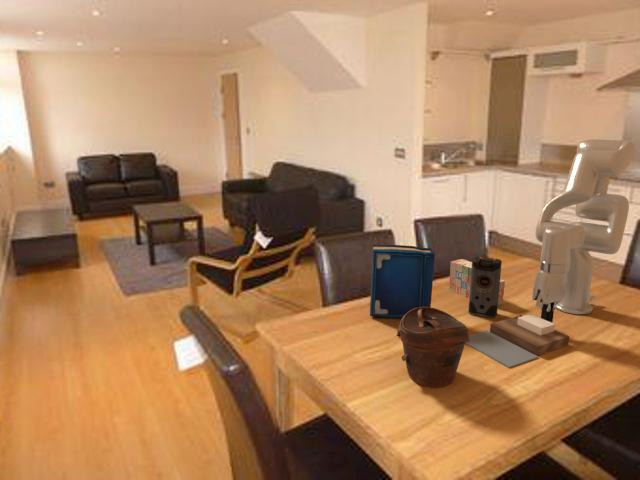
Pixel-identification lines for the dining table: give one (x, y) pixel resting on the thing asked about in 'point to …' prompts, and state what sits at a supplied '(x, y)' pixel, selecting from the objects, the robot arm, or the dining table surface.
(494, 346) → the mat
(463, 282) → the stack of blocks
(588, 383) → the dining table surface
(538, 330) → the tile
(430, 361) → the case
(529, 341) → the plate
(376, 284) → the book
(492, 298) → the electronic device
